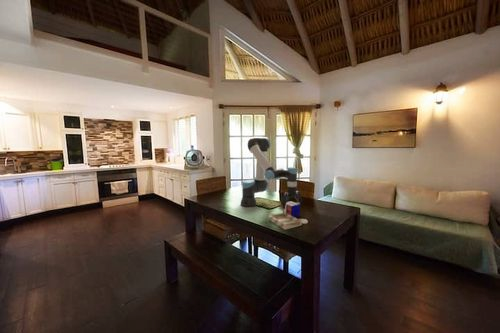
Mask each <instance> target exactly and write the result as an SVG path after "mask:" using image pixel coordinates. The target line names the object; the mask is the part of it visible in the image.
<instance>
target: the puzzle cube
mask: <svg viewBox="0 0 500 333" xmlns="http://www.w3.org/2000/svg"><path fill="white" fill-rule="evenodd" d="M300 206H301V203H300V204H298V203H297V202H294V201H288V202H287V203H286V213H287V214H289V215H291V216H293V217H295V218H296V217H299V216H300V209H301V207H300ZM282 213H284V212H283V211H282Z"/></svg>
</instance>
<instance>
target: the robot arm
mask: <svg viewBox="0 0 500 333" xmlns="http://www.w3.org/2000/svg"><path fill="white" fill-rule="evenodd" d="M270 148H271V140H270V139H269V138H268V137H267V136H266V137H265V136H253V137H251V138H250V139H248V141H247V149H248V150H249V152H250V153H251V154H253V156H254V158H255V159H256V165H255V166H256V167H255V170H256V171H255V177H254V179H246V180H244V181H242V185H241V188H242V190H241V191H242V197H241V200H240V206H241V207H245V208H252V207H256V206H257V201H256V197H255V194H256V193H257V194H258V193H263V192H266V191H267V190H268V188H269V182H268V180H271V181H273V180H276V179H283V178H285V179H287V192H284V194H283V197H282V200H281V202H280V204H281V205H282V213H283V212H284V213H286V203H287V202H289V200H290V199H292V198H294V199H295V200H296V203H298V204H300V205H301V203H302V202H303V198H302V196H301V194H300V191H299V190H297V186H298V184H297V182H298V179H297V178H298V169H297V167H294V166H293V167H292V166H289V167H287V168H281V167H279V168H277V169H274V166H272V164H271V163H270V161H269V160H268V158H267V156H266V155H267V152H268V151H269V149H270Z"/></svg>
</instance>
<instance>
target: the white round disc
mask: <svg viewBox="0 0 500 333" xmlns="http://www.w3.org/2000/svg"><path fill="white" fill-rule="evenodd" d="M298 219H299V220H301V221H302V225H303V224H304V225H305V224H308V223H309V221H308V220H307V219H306V218H298Z"/></svg>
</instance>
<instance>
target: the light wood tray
mask: <svg viewBox="0 0 500 333" xmlns="http://www.w3.org/2000/svg"><path fill="white" fill-rule="evenodd" d="M299 219H300V218H296V217H293V216H291V215H289V214H287V213H283V212H281V213H275V214H270V215H268V220H269V221H270V222H272V223H274V224H275V225H276V226H278V227H280V228H282V229H283V230H289V229H292V228H297V227H300V226H302V225H303V224H302V221H301V220H299Z"/></svg>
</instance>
